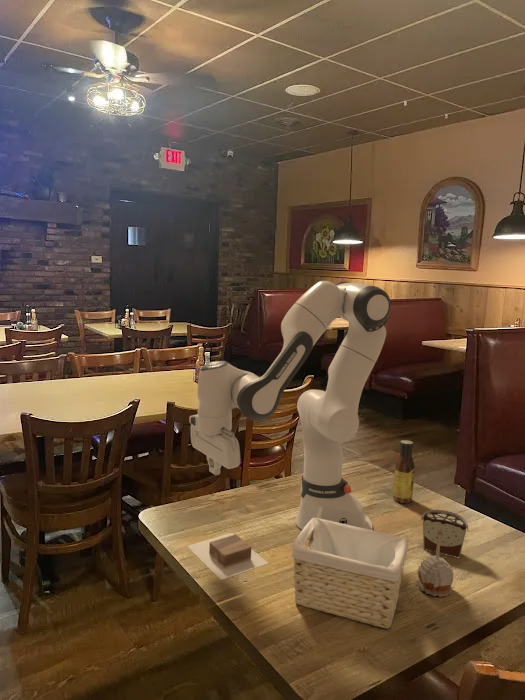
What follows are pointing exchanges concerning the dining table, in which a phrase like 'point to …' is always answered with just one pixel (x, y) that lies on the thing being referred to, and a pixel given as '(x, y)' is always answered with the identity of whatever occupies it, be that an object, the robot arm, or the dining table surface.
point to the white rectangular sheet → (203, 554)
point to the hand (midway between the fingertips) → (214, 473)
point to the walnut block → (230, 551)
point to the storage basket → (349, 571)
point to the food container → (444, 531)
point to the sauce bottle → (404, 473)
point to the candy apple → (435, 574)
